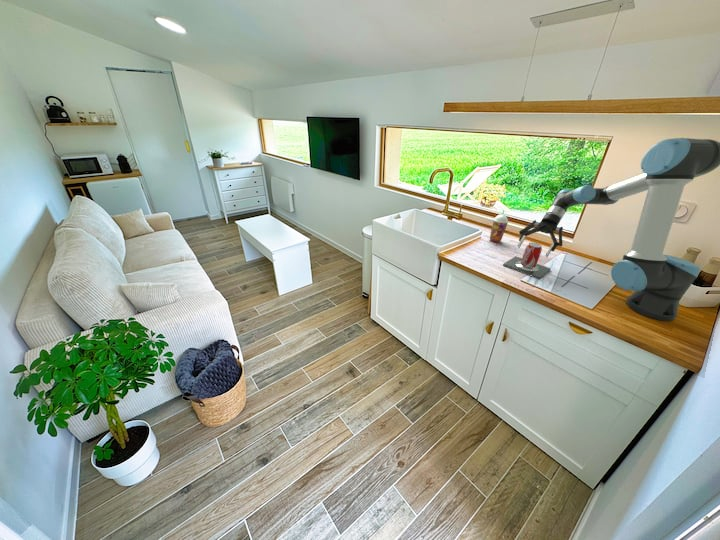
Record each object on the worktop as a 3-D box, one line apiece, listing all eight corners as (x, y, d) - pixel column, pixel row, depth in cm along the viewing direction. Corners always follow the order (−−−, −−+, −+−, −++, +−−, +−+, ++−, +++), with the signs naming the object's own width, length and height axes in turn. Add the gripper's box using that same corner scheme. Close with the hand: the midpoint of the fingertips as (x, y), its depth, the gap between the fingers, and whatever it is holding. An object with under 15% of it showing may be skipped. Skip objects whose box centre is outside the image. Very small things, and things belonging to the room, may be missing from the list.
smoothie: (492, 237, 182) (500, 207, 173) (504, 241, 177) (514, 210, 167) (485, 240, 178) (493, 209, 168) (497, 244, 172) (507, 213, 163)
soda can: (534, 270, 141) (542, 248, 135) (518, 266, 145) (526, 245, 139) (536, 265, 146) (544, 244, 140) (521, 261, 150) (528, 240, 144)
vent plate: (550, 270, 144) (551, 268, 144) (539, 279, 136) (540, 277, 135) (515, 257, 156) (515, 256, 156) (502, 265, 147) (503, 263, 147)
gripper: (580, 227, 139) (559, 263, 137) (527, 215, 155) (508, 246, 153) (582, 219, 133) (560, 256, 131) (527, 207, 149) (506, 239, 147)
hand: (532, 251), depth 142 cm, fingers open, 13 cm apart
